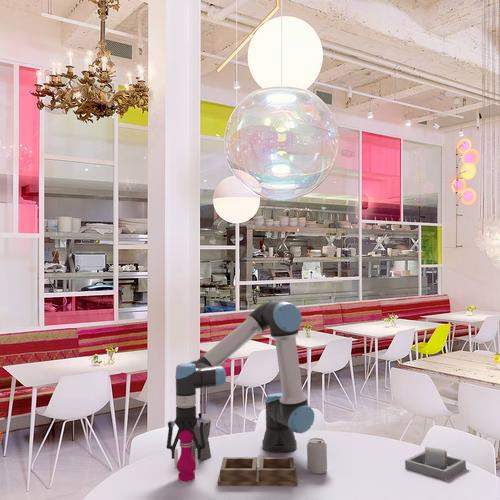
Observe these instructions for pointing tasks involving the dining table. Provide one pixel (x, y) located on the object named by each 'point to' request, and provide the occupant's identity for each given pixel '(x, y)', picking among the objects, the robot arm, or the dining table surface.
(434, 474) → the frame
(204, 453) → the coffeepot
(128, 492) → the dining table surface
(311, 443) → the can
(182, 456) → the pepper mill
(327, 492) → the dining table surface
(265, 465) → the wooden divided tray
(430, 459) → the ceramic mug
